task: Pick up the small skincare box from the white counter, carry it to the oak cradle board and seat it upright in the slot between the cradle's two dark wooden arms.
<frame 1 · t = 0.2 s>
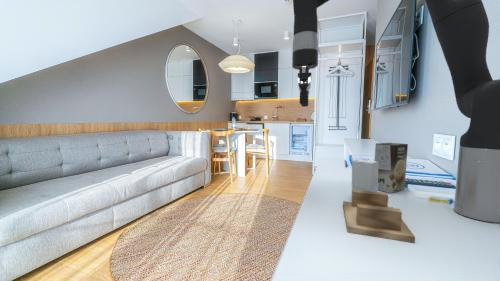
hand: (304, 105, 68), 28 cm above the table, tool pointing down, fingers open, 8 cm apart
oak cradle board: (372, 220, 52), on the table
coffee box: (388, 189, 77), on the table
skincare box: (363, 201, 65), on the table
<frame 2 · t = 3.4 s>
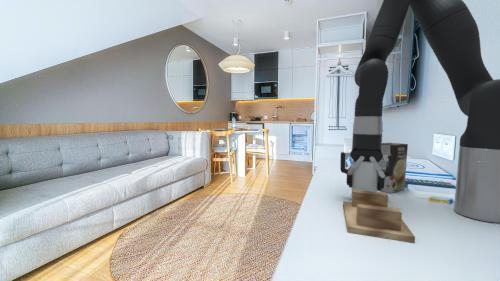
hand: (364, 188, 65), 4 cm above the table, tool pointing down, fingers closed on skincare box, 7 cm apart
skincare box: (363, 201, 65), on the table, touching gripper
everything else where it was.
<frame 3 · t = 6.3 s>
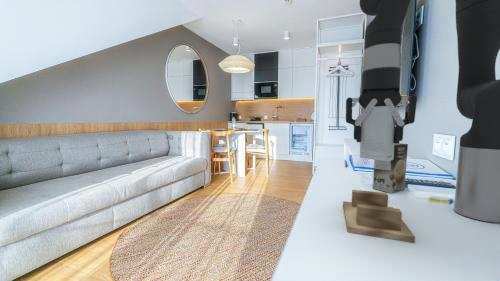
hand: (376, 142, 51), 19 cm above the table, tool pointing down, fingers closed on skincare box, 7 cm apart
skincare box: (375, 159, 51), point 15 cm above the table, touching gripper
everything else where it was.
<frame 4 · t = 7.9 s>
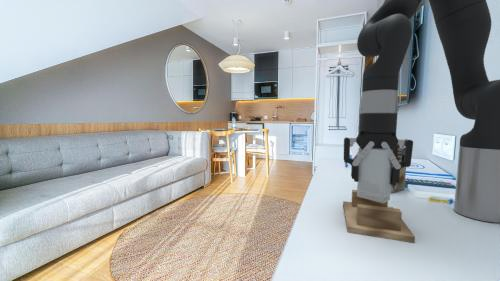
hand: (373, 182, 52), 9 cm above the table, tool pointing down, fingers closed on skincare box, 7 cm apart
skincare box: (372, 199, 52), point 5 cm above the table, touching gripper
everything else where it was.
when the fingers open (7 cm above the table, at t = 9.4 s): skincare box drops 2 cm, resting on oak cradle board.
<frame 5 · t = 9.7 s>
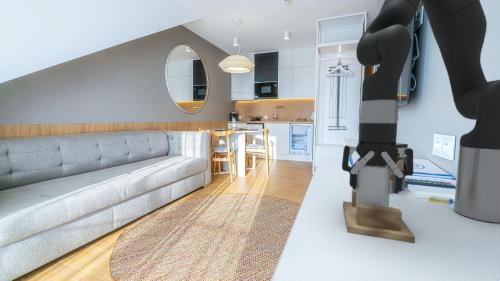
hand: (373, 190, 52), 7 cm above the table, tool pointing down, fingers open, 8 cm apart
skincare box: (371, 216, 52), point 1 cm above the table, touching oak cradle board
everything else where it was.
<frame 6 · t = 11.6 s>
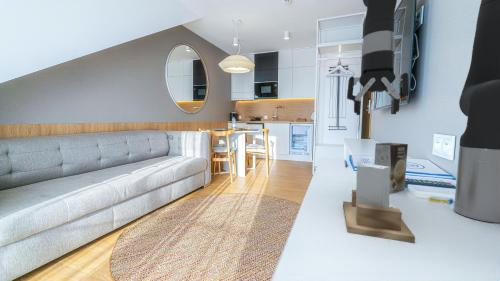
hand: (375, 114, 60), 25 cm above the table, tool pointing down, fingers open, 8 cm apart
nothing on the table moved.
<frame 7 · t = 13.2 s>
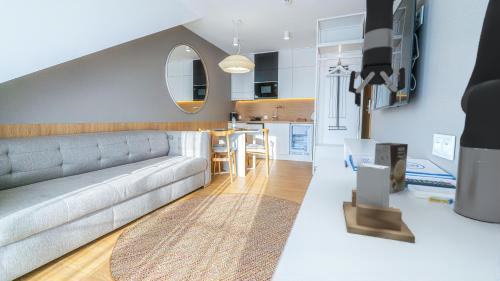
hand: (374, 106, 65), 28 cm above the table, tool pointing down, fingers open, 8 cm apart
nothing on the table moved.
at the end: skincare box inside the target area on the oak cradle board (0.3 cm from its centre), point 1.0 cm above the oak cradle board's base; skincare box tilted 0°; the gripper is holding nothing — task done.
